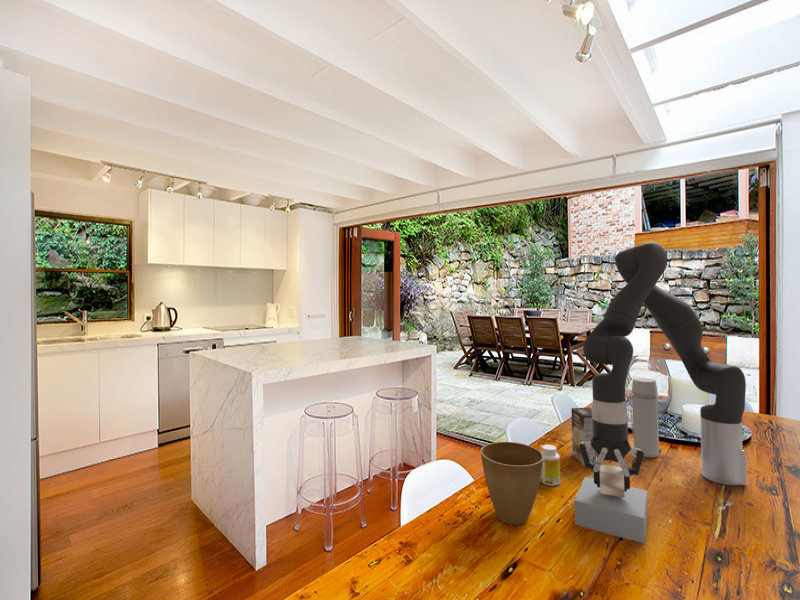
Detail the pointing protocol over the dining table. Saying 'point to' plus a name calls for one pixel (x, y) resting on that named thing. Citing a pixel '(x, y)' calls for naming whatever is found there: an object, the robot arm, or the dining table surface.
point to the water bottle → (645, 416)
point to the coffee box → (582, 432)
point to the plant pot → (512, 479)
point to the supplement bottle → (550, 466)
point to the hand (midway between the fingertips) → (611, 487)
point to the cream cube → (611, 480)
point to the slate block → (612, 511)
